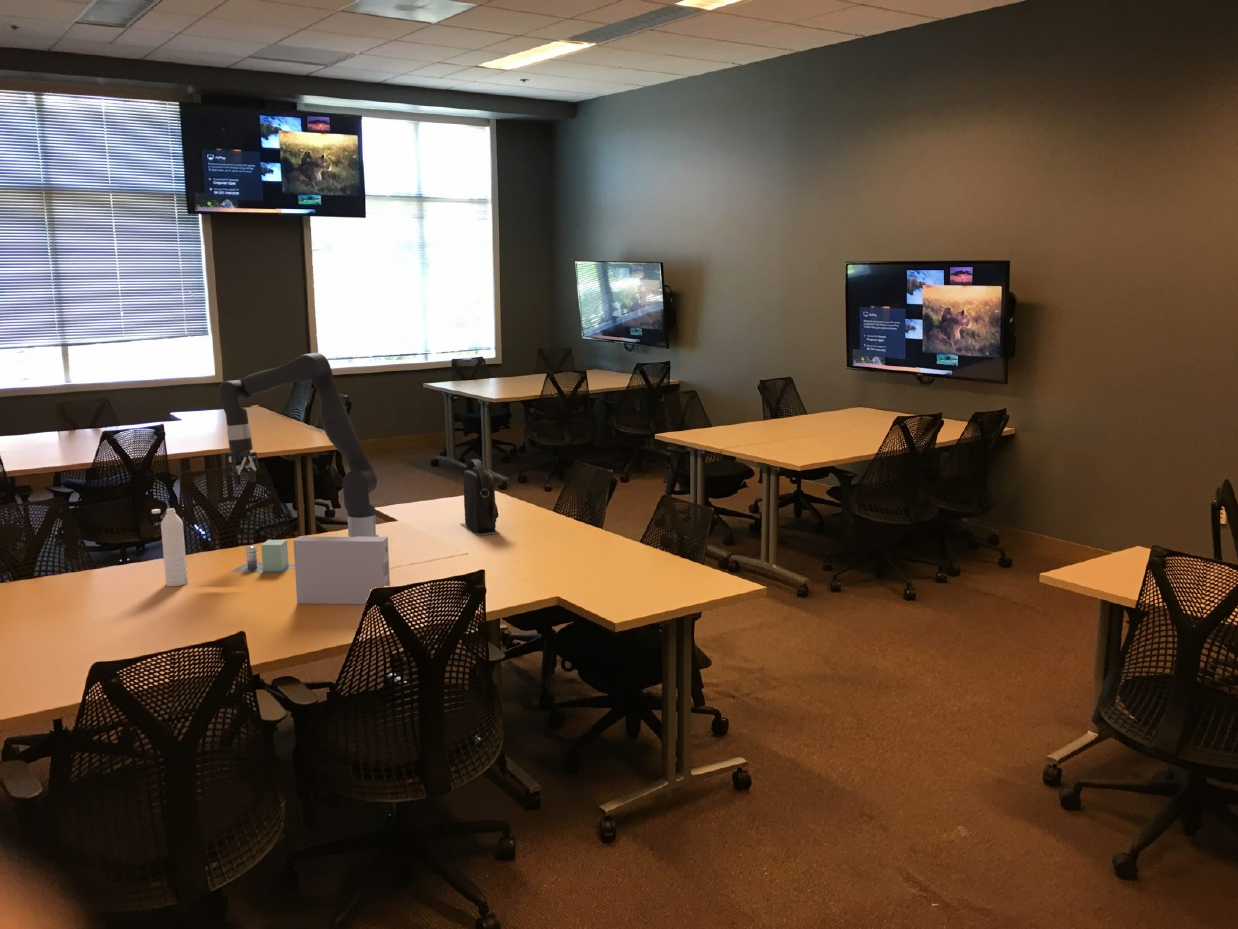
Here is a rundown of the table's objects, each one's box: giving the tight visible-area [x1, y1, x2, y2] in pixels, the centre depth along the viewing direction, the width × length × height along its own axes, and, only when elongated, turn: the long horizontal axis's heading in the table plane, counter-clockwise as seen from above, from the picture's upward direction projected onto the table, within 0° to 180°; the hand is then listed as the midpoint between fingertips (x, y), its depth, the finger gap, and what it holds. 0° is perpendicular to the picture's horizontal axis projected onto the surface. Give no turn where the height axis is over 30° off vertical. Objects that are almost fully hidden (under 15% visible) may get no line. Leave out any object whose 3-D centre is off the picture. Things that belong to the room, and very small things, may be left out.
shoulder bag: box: [459, 458, 501, 537], centre depth 389 cm, size 23×9×28 cm, turn 28°
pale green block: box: [260, 539, 290, 571], centre depth 331 cm, size 6×6×9 cm
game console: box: [292, 535, 391, 605], centre depth 301 cm, size 6×27×20 cm, turn 88°
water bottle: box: [151, 507, 189, 587], centre depth 317 cm, size 9×6×25 cm
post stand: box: [231, 545, 295, 575], centre depth 332 cm, size 18×11×8 cm, turn 80°
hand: (245, 483), depth 346 cm, fingers open, 8 cm apart
